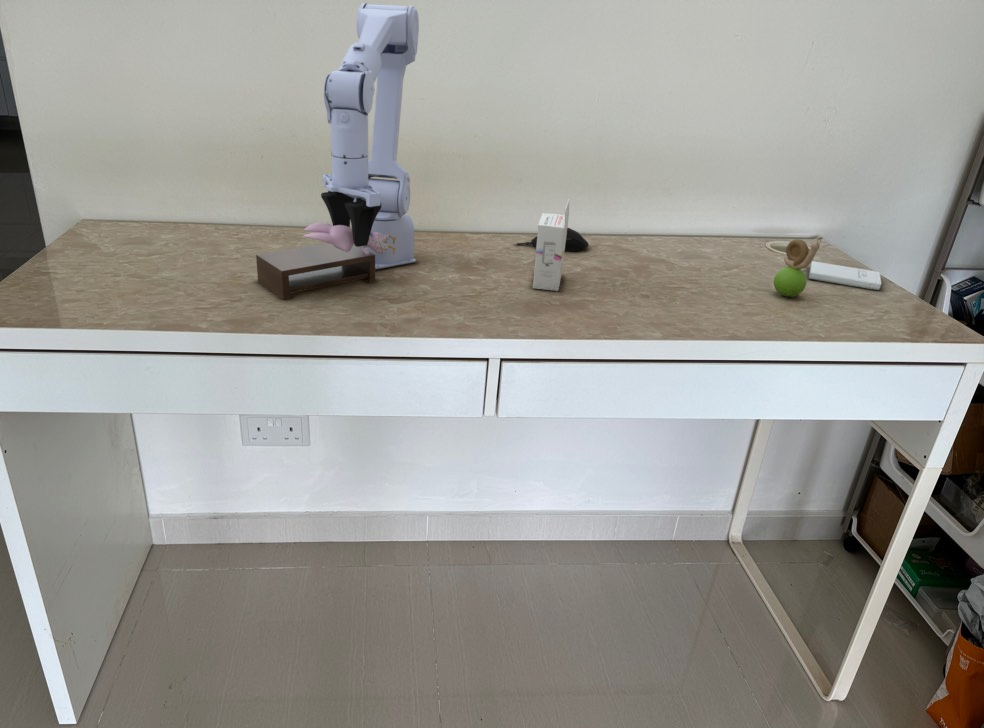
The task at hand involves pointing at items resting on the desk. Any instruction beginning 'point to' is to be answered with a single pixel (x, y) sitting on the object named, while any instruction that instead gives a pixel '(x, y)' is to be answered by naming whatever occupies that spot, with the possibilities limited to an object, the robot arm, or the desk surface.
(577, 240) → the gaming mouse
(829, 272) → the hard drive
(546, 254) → the ink cartridge box
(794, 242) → the snail figurine
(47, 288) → the desk surface
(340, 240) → the rabbit figure
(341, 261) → the rack
